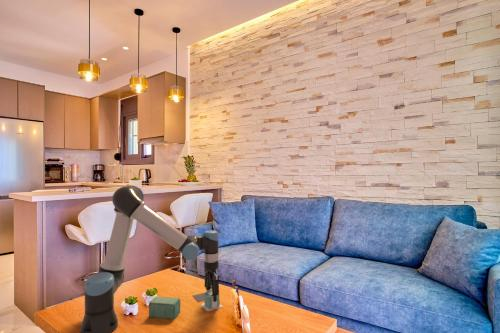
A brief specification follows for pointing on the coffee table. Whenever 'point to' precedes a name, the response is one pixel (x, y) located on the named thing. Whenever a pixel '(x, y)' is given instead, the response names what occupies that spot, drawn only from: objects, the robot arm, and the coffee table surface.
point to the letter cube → (210, 299)
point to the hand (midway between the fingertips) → (211, 304)
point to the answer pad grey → (210, 308)
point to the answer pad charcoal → (199, 297)
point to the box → (164, 307)
